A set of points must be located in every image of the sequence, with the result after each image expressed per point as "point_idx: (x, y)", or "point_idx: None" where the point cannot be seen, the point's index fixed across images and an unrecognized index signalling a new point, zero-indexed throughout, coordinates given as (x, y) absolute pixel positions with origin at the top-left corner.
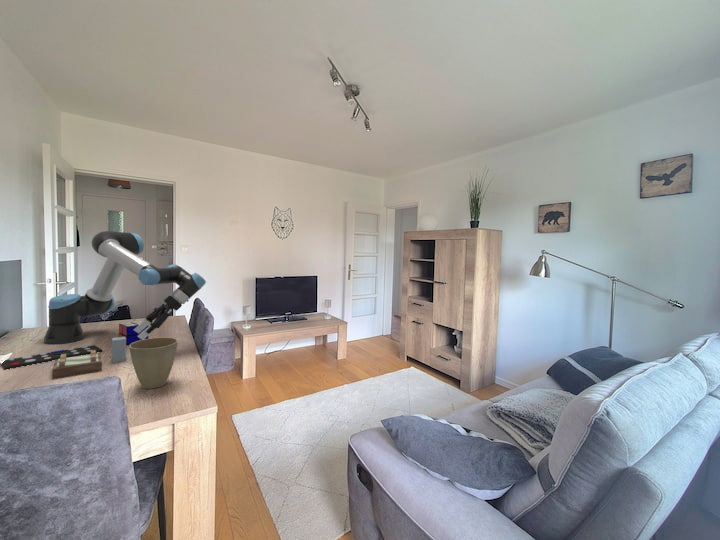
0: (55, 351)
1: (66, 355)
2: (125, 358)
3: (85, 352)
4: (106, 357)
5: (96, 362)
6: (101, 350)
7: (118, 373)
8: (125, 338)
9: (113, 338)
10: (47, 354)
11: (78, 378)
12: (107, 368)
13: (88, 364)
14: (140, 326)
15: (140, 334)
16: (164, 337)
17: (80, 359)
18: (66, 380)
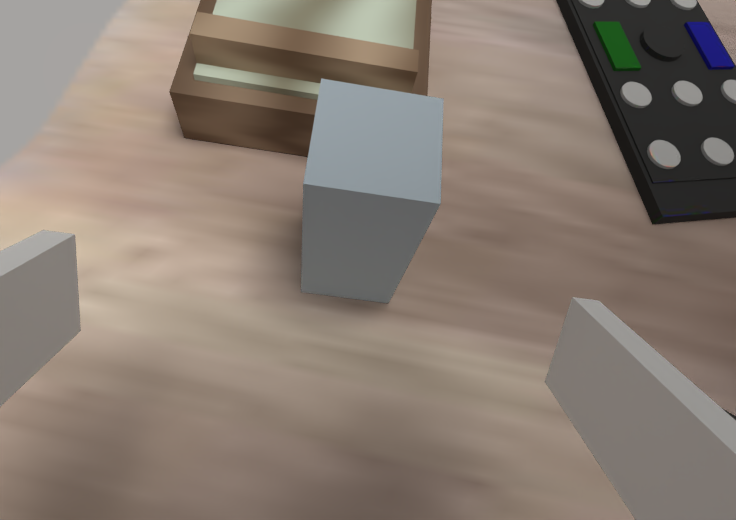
0: (711, 35)
1: (607, 57)
2: (302, 282)
3: (633, 131)
4: (488, 215)
5: (187, 69)
6: (658, 212)
7: (27, 194)
8: (331, 185)
9: (415, 103)
10: (671, 9)
11: (139, 39)
12: (210, 170)
13: (188, 36)
14: (615, 383)
15: (7, 250)
16: None
17: (317, 18)
18: (155, 3)
